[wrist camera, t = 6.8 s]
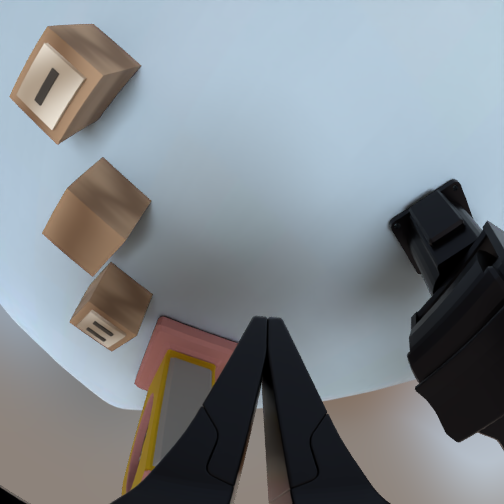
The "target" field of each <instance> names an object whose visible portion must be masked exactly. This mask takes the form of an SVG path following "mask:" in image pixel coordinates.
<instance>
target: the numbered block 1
mask: <svg viewBox="0 0 504 504" xmlns="http://www.w3.org/2000/svg"><path fill="white" fill-rule="evenodd" d="M140 67H141V65H140V64H139V63H138V62H137V61H135V60H134V59H133V58H132V57H131V56H130V55H129V54H128V53H126V52H125V51H124V50H123V49H122V48H121V47H120V46H119V45H117V44H116V43H115V42H114V41H113V40H112V39H110V38H109V37H108V36H107V35H106V34H105V33H103V32H102V31H101V30H100V29H99V28H98V27H96V26H95V25H94V24H75V25H57V26H47V28H46V30H45V31H44V33H43V34H42V36H41V38H40V39H39V41H38V43H37V44H36V46H35V48H34V49H33V51H32V53H31V55H30V56H29V58H28V60H27V62H26V64H25V66H24V68H23V70H22V71H21V73H20V75H19V77H18V79H17V82H16V84H15V86H14V88H13V90H12V92H11V94H10V98H11V99H12V100H13V101H14V102H15V103H16V104H17V105H18V106H19V107H20V108H21V109H22V110H23V111H24V112H25V113H26V114H27V115H28V116H29V117H30V118H31V119H32V120H33V121H34V122H35V123H36V124H37V125H38V126H39V127H40V128H41V129H42V130H43V131H44V132H45V133H46V134H47V135H48V136H49V137H50V138H51V139H52V140H53V141H54V142H55V143H56V144H57V145H58V144H60V143H61V142H63V141H64V140H66V139H67V138H69V137H70V136H72V135H74V134H75V133H77V132H79V131H80V130H82V129H83V128H85V127H87V126H89V125H90V124H92V123H94V122H95V121H97V120H98V119H99V118H100V116H101V115H102V114H103V112H104V111H105V110H106V108H107V107H108V106H109V104H110V103H111V102H112V100H113V99H114V98H115V97H116V95H117V94H118V93H119V92H120V90H121V89H122V88H123V87H124V85H125V84H126V83H127V82H128V81H129V79H130V78H131V77H132V76H133V75H134V74H135V72H136V71H137V70H138V69H139V68H140Z"/></svg>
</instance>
